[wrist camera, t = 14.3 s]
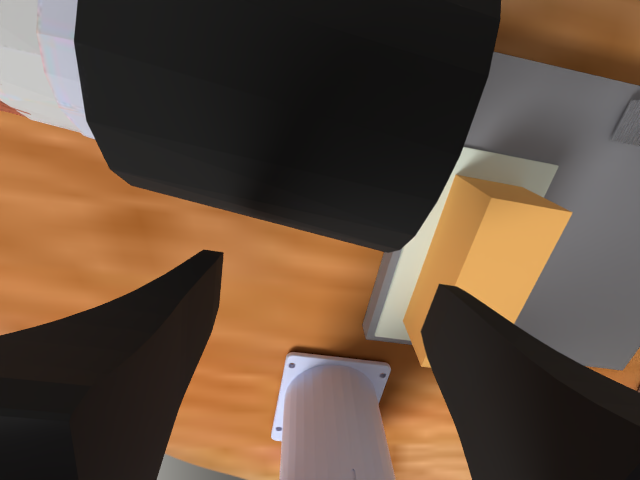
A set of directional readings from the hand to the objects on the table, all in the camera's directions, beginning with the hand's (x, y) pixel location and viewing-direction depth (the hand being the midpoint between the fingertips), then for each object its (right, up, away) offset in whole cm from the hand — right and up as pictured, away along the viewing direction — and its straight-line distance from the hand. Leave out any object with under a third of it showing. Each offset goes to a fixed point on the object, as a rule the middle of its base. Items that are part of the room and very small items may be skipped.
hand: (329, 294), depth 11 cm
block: (+8, +1, +10) cm, 13 cm away
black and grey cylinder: (-13, +12, +5) cm, 19 cm away
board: (+14, +2, +11) cm, 18 cm away
